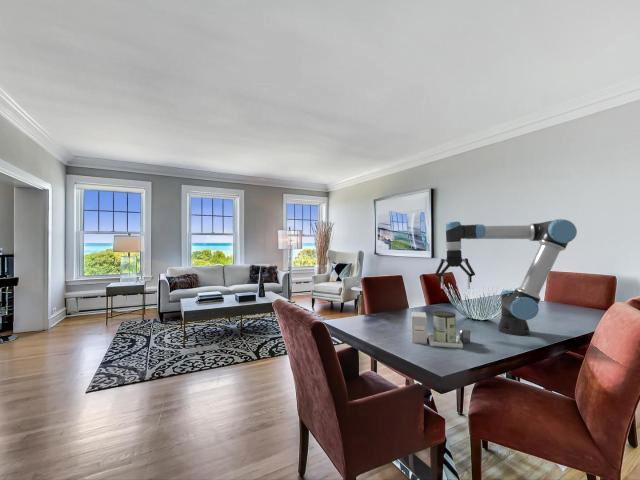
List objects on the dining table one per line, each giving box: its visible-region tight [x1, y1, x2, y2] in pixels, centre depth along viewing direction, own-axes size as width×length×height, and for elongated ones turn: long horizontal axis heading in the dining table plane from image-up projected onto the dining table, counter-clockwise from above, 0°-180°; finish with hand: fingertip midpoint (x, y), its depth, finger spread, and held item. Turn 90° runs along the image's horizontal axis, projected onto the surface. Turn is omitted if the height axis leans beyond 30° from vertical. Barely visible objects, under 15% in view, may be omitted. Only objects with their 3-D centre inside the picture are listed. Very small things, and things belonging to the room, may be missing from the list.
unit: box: [410, 311, 428, 345], centre depth 160 cm, size 7×12×13 cm, turn 165°
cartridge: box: [458, 328, 471, 345], centre depth 156 cm, size 5×5×6 cm
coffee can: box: [432, 310, 457, 343], centre depth 156 cm, size 10×10×14 cm
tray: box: [427, 333, 464, 349], centre depth 156 cm, size 15×15×2 cm
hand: (455, 288), depth 172 cm, fingers open, 13 cm apart
